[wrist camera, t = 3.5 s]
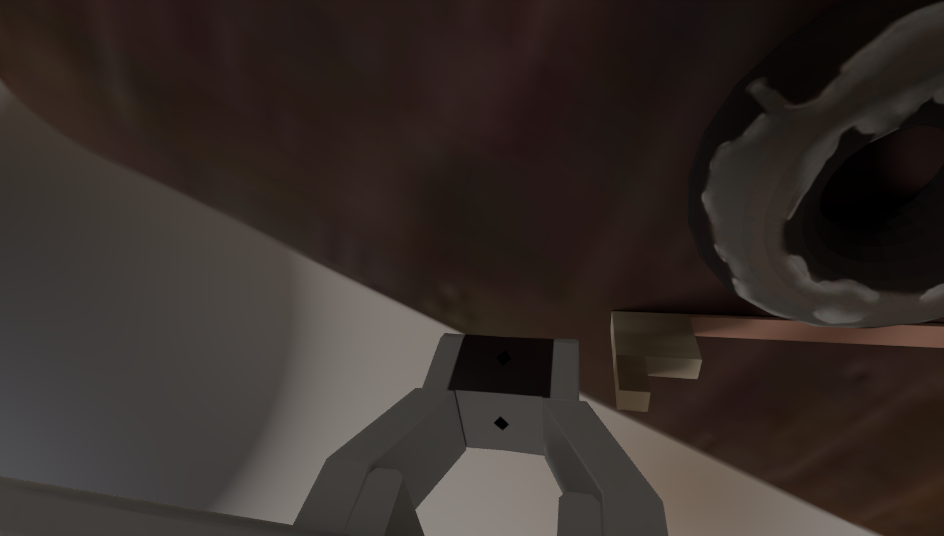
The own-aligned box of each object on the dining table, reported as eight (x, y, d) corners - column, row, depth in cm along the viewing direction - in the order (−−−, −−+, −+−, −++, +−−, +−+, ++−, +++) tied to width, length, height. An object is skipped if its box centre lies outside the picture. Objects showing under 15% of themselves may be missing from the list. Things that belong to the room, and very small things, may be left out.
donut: (1207, 51, 12) (1422, 81, 9) (860, 322, 20) (915, 392, 16) (839, -106, 12) (931, -130, 9) (623, 226, 19) (631, 279, 16)
